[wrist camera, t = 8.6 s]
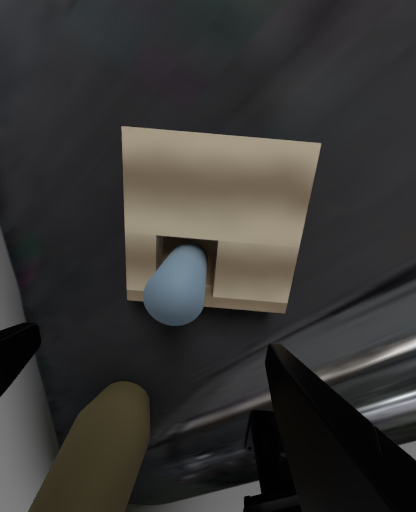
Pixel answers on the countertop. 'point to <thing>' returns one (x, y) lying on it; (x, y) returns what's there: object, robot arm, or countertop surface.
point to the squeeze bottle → (99, 454)
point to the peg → (178, 286)
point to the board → (217, 210)
